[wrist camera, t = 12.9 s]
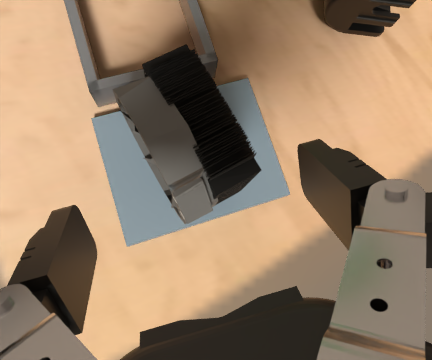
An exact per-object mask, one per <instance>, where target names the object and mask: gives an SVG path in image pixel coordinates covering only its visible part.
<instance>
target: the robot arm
mask: <svg viewBox="0 0 432 360" xmlns="http://www.w3.org/2000/svg"><path fill="white" fill-rule="evenodd" d="M298 159H299V168H300V178H301V185H302V189H303V192H304V194H305V196H306V198H307V200H308V201H309V202H310V203H311V205H312V206H313V207H314V208H315V209H316V211H317V212H318V213H319V214H320V216H321V217H322V218H323V219H324V221H325V222H326V223H327V224H328V226H329V227H330V228H331V229H332V231H333V232H334V233H335V234H336V236H337V237H338V238H339V239H340V240H341V242H342V243H343V244H344V245H345V247H346V248H347V249H348V250H349V252H348V256H347V260H346V264H345V268H344V272H343V276H342V279H341V283H340V287H339V291H338V295H337V299H336V301H334V300H329V299H323V298H309V297H308V298H302V296H301V294H300V292H299V290H298V288H297V286H295V287H292V288H289V289H285V290H282V291H278V292H275V293H271V294H268V295H265V296H261V297H258V298H257V299H255V300H253V301H251V302H249V303H247V304H246V305H244V306H242V307H240V308H238V309H236V310H234V311H233V312H231V313H229V314H227V315H225V316H223V317H220V318H209V319H195V320H181V321H176V322H173V323H169V324H166V325H163V326H159V327H156V328H152V329H149V330H146V331H142V332H140V346H139V347H137V348H136V349H134V350H132V351H131V352H129V353H128V354H126V355H125V356H124V357H123V358H121V359H120V360H432V344H431V343H429V342H426V341H425V307H426V268H432V192H431V193H425V191H424V189H423V188H422V187H421V186H420V185H418V184H416V183H414V182H411V181H408V180H402V179H388V180H387V179H386V178H384V177H383V176H382V175H380V174H379V173H378V172H376V171H375V170H374V169H372V168H371V167H370V166H368V165H366V163H364V162H363V161H362V160H359V158H358V157H356V156H355V155H354V154H352V153H351V152H349V151H346V150H342V149H339V148H335V149H332V148H331V147H329V146H328V145H327V144H326V143H324V142H323V141H322V140H320V139H317V140H313V141H310V142H306V143H302V144H299V145H298ZM20 259H21V261H19V262H18V264H17V266H16V268H15V270H14V273H13V275H12V277H11V279H10V281H9V283H8V285H7V286H6V287H3V288H1V289H0V360H97V359H96V358H95V357H94V356H93V355H92V353H91V352H90V351H89V350H88V349H87V348H86V347H85V346H84V345H83V344H82V343H81V341H80V340H79V339H78V338H77V337H76V336H75V335H77V334H80V333H82V331H83V325H84V320H85V315H86V310H87V305H88V300H89V295H90V290H91V285H92V280H93V275H94V270H95V265H96V260H97V249H96V244H95V241H94V239H93V237H92V235H91V233H90V231H89V228H88V226H87V224H86V222H85V220H84V218H83V216H82V214H81V212H80V210H79V208H78V207H77V206H76V205H72V206H69V207H65V208H61V209H57V210H54V211H52V212H51V214H50V216H49V219H48V221H47V223H46V225H45V227H44V228H41V229H40V230H39V231H38V232H37V233H36V234H35V235H34V236H33V237H32V238H31V239H30V240H29V242H28V244H27V246H26V248H25V252H23V254H22V256H21V258H20Z"/></svg>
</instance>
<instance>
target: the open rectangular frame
mask: <svg viewBox="0 0 432 360" xmlns="http://www.w3.org/2000/svg"><path fill="white" fill-rule="evenodd" d="M179 2H180V5H181V8H182V11H183V13H184V16H185V19H186V22H187V25H188V28H189V31H190V34H191V37H192V40H193V43H194V46H195V49H196V52H197V54H198V58H199V57H200V58H201V61H202V64H203V65H205V67H206V69H207V71H208V72H209V73H210V75H211V77H212V78H215V73H216V68H217V63H218V59H217V56H216V53H215V50H214V47H213V44H212V42H211V39H210V36H209V33H208V30H207V27H206V24H205V22H204V19H203V16H202V13H201V10H200V7H199V5H198V2H197V0H179ZM64 3H65V6H66V10H67V13H68V17H69V20H70V24H71V27H72V31H73V35H74V38H75V42H76V45H77V49H78V52H79V56H80V60H81V63H82V67H83V70H84V74H85V77H86V81H87V85H88V88H89V92H90V93H91V95H92V97H93V99H94V100H95V102H96V104H97V106H98V107H101V106H104V105H108V104H112V103H116V102H117V101H116V98H115V95H114V93H113V90H112V89H115V88H118V87H121V86H123V85H126V84H129V83H132V82H135V81H137V80H140V79H143V78H145V76H144V75H145V74H144V69H141V70H136V71H132V72H128V73H124V74H120V75H116V76H112V77H107V78H103V79H100V77H99V74H98V70H97V67H96V63H95V60H94V56H93V53H92V49H91V46H90V42H89V39H88V35H87V32H86V29H85V25H84V22H83V18H82V15H81V11H80V8H79V4H78V1H77V0H64ZM207 71H206V72H207Z"/></svg>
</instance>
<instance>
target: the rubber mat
mask: <svg viewBox="0 0 432 360" xmlns="http://www.w3.org/2000/svg"><path fill="white" fill-rule="evenodd" d="M216 87H217V89H218V88H219V91H220V92H219V93H222V94H221V96H223V97H224V99H225V101H226V102H227V103H228V106H229V108H231V110H232V112H233V113H232V112H231V113H232V115H233V114H234V115H235V116H234V117H236V119H237V122H238V124H239V123H240V125H239V126H241V128H243V129H242V130H244V132H245V135H247V136H248V138H247V140H249V141H251V142H250V144H251V145H250V147H252V146H253V147H252V149H253V148H254V149H253V151H254V150H255V152H254V154H255V153H256V155H255V157H254V158H255V160H256V162H257V163H258V165H259V166H260V168H261V171H260V172H259V173H258V174H257V175H256V176H255V177H254V178H253V179H252V180H251V181H250V182H249V183H248V184H247V185H246V186H245V187H244V188H243V189H242V190H241V191H240V192H238V193H236V194H235V195H233V196H231V197H229V198H228V199H226V200H224V201H222V202H220V203H219V204H217V205H215V206H214V207H212V208H213V211H212V212H210V213H208V214H206V215H204V216H202V217H200V218H199V219H197V220H195V221H193V222H191V223H189V224H187V223H186V224H184V223H183V221H182V220H181V219H180V217H179V216H178V215H177V213H176V211H175V210H174V208H171V203H170V201H169V199H168V198H167V196H166V194H165V193H164V191H163V189H162V187H161V186H160V184H159V182H158V180H157V178H156V177H155V175H154V173H153V171H152V170H151V168H150V166H149V164H148V162H147V161H146V160H145V159H144V158H145V157H144V155H143V153H142V151H141V149H140V147H139V145H138V143H137V141H136V139H135V138H134V136H133V134H132V132H131V130H130V128H129V126H128V124H127V122H126V120H125V118H124V116H123V114H122V112H121V111H118V112H114V113H110V114H106V115H103V116H99V117H95V118H91V119H92V123H93V126H94V130H95V133H96V137H97V141H98V144H99V148H100V151H101V155H102V159H103V162H104V166H105V169H106V173H107V177H108V180H109V184H110V187H111V191H112V195H113V198H114V202H115V205H116V209H117V213H118V216H119V220H120V223H121V227H122V231H123V234H124V238H125V241H126V245H127V246H131V245H135V244H138V243H141V242H144V241H147V240H150V239H153V238H156V237H160V236H163V235H166V234H169V233H172V232H175V231H178V230H181V229H185V228H188V227H191V226H194V225H197V224H200V223H203V222H206V221H210V220H213V219H216V218H219V217H222V216H225V215H228V214H231V213H235V212H238V211H241V210H244V209H247V208H250V207H253V206H256V205H260V204H263V203H266V202H269V201H272V200H275V199H278V198H282V197H285V196H288V195H290V192H289V189H288V186H287V184H286V181H285V178H284V175H283V173H282V170H281V167H280V164H279V162H278V159H277V156H276V153H275V151H274V148H273V145H272V142H271V140H270V137H269V134H268V131H267V129H266V126H265V123H264V120H263V118H262V115H261V112H260V109H259V107H258V104H257V101H256V98H255V96H254V93H253V90H252V87H251V85H250V82H249V79H248V78H246V79H242V80H238V81H234V82H231V83H227V84H223V85H219V86H216ZM225 101H224V102H225ZM227 103H226V104H227ZM237 122H236V123H237ZM244 132H243V133H244ZM247 136H246V137H247ZM247 140H246V141H247ZM249 141H248V142H249ZM250 147H249V148H250ZM253 151H252V152H253Z"/></svg>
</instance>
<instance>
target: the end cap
mask: <svg viewBox="0 0 432 360" xmlns="http://www.w3.org/2000/svg"><path fill="white" fill-rule="evenodd" d="M415 1H416V0H324V17H325V21H326V23H327V24H328V25H329V26H330V27H331V28H333V29H335V30H336V31H339V32H342V33H348V34H357V35H365V36H373V37H377V36H380V35H381V34H382V33H383V32H384V26H385V27H391V26H393V25H394V23H395V22H396V21H397V20H398V19H399V18H400V14H396V13H390V6H395V7H403V8H409V7H410V6H411V5H412V4H413V3H414V2H415Z"/></svg>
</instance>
